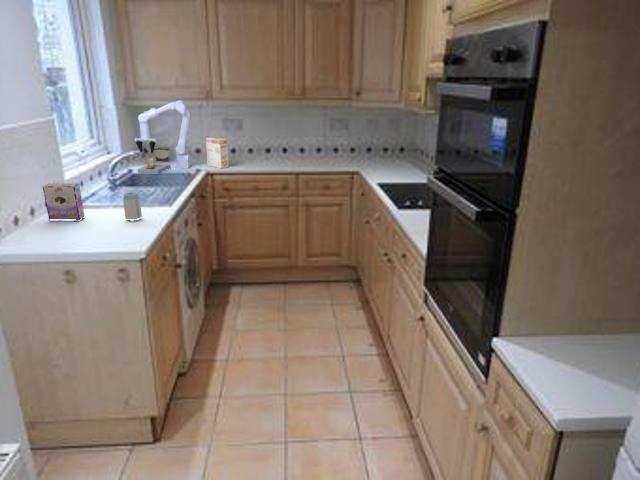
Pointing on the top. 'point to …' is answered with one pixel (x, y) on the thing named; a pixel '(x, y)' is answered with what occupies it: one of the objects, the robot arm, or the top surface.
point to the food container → (162, 154)
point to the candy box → (63, 201)
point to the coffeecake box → (217, 152)
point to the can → (132, 206)
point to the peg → (150, 163)
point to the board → (157, 169)
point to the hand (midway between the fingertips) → (146, 152)
